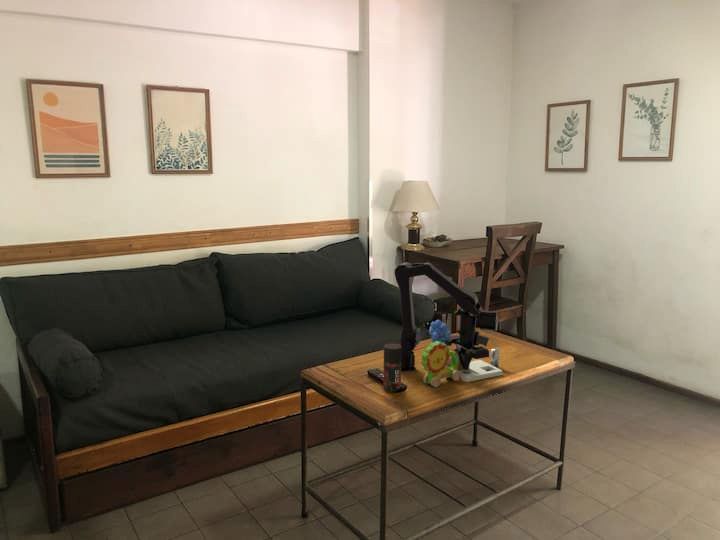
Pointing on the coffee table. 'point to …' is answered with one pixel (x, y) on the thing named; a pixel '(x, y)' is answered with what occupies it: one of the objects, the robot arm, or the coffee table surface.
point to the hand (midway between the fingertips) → (465, 369)
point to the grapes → (439, 332)
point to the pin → (495, 357)
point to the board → (479, 371)
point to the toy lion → (439, 364)
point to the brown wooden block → (451, 362)
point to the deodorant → (392, 367)
